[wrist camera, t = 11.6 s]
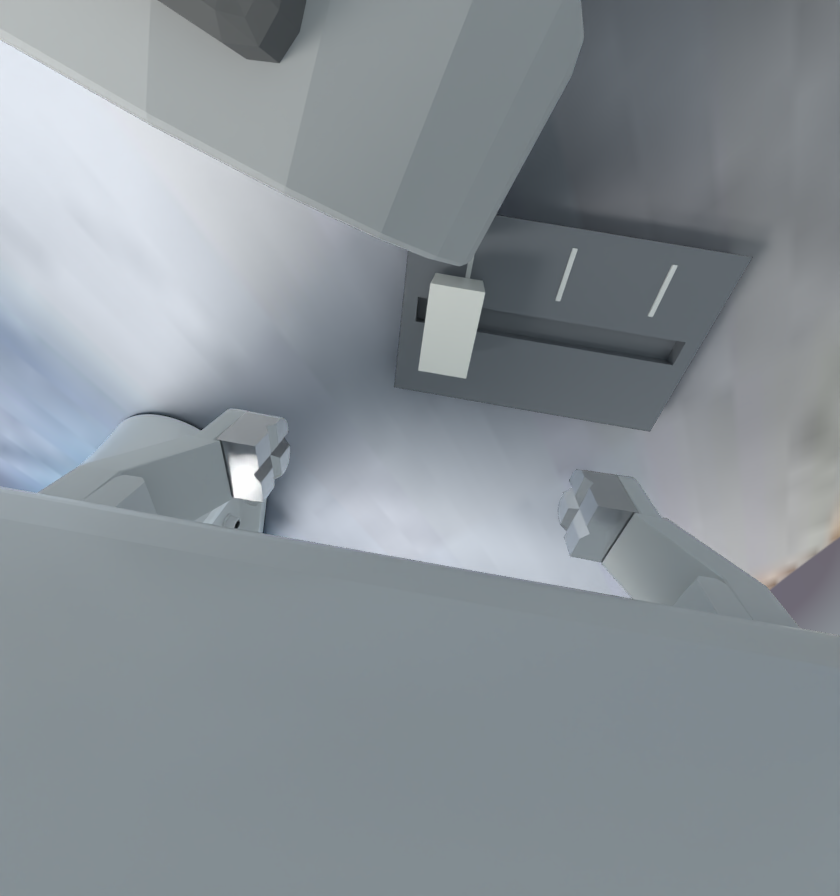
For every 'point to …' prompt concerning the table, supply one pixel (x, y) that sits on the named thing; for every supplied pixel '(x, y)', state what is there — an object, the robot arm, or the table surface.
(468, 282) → the fader knob
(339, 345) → the table surface
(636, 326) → the fader deck
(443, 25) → the alarm clock
